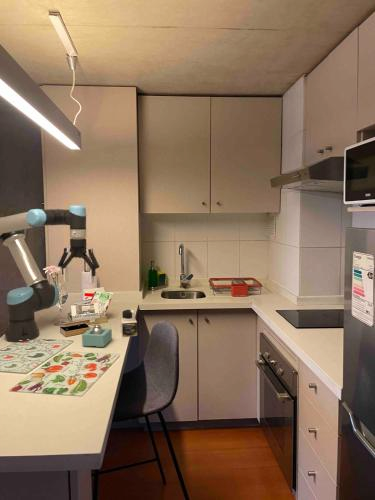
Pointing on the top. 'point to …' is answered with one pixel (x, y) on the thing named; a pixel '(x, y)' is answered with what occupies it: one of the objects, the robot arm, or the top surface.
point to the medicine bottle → (128, 323)
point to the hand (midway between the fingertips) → (78, 282)
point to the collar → (96, 338)
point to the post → (97, 329)
